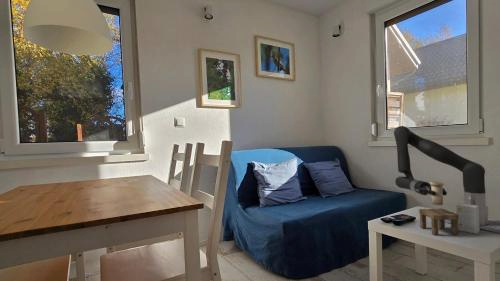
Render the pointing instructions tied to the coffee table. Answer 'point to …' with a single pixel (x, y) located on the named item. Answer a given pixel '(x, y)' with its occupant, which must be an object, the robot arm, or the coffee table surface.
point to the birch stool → (437, 193)
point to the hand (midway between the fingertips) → (440, 193)
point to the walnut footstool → (438, 219)
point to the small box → (468, 218)
